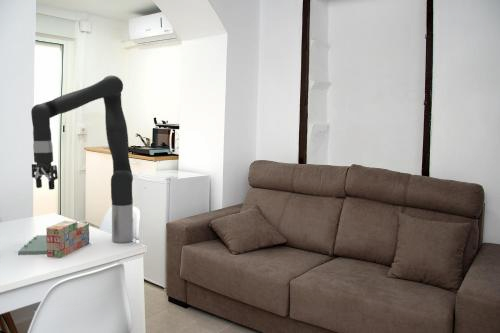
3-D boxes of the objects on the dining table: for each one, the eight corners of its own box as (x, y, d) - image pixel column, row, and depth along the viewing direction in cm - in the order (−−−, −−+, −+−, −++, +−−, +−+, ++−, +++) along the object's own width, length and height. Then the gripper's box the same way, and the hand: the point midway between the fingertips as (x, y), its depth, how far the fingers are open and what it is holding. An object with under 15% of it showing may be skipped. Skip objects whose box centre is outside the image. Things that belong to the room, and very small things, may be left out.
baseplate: (64, 238, 208) (64, 233, 207) (49, 254, 184) (49, 248, 184) (37, 238, 206) (36, 233, 206) (18, 254, 182) (18, 249, 182)
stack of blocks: (77, 242, 202) (76, 215, 201) (89, 243, 201) (89, 216, 200) (46, 256, 181) (46, 227, 180) (60, 258, 180) (59, 228, 179)
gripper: (61, 151, 190) (63, 188, 192) (40, 149, 197) (42, 186, 199) (45, 152, 183) (48, 191, 185) (24, 151, 191) (27, 188, 192)
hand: (45, 188), depth 192 cm, fingers open, 8 cm apart
